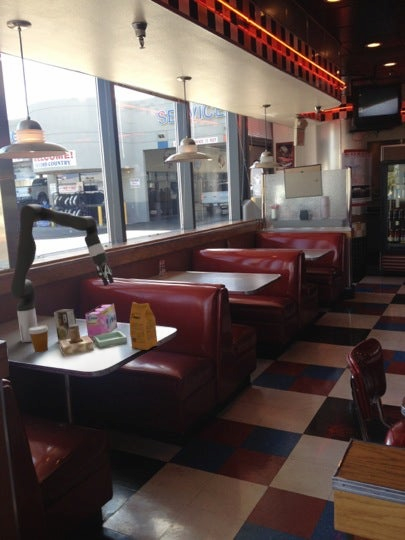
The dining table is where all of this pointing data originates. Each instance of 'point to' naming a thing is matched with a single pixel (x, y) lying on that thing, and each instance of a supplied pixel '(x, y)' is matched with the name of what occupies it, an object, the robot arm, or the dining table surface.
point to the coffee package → (142, 327)
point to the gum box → (101, 320)
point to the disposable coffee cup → (39, 337)
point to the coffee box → (64, 323)
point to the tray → (110, 339)
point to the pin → (74, 333)
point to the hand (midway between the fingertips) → (109, 284)
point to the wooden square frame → (76, 345)
